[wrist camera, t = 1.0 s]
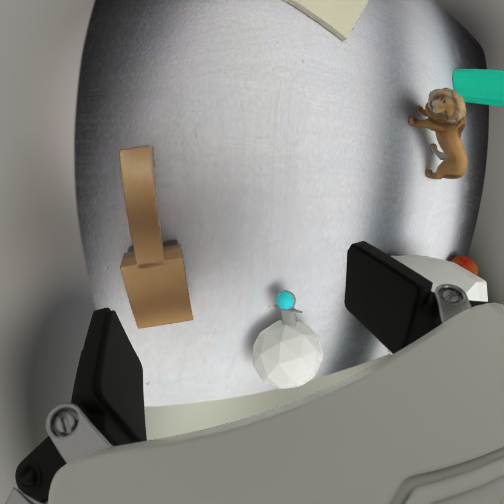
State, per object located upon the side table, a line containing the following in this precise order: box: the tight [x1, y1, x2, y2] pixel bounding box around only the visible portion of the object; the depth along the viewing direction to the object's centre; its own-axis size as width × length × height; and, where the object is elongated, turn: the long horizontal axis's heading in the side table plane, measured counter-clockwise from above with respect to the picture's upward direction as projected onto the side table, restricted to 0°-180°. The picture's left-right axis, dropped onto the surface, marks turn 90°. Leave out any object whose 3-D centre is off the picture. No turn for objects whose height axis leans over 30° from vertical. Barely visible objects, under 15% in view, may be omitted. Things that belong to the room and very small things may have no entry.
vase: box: [386, 255, 488, 355], centre depth 25 cm, size 14×14×25 cm
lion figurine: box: [409, 88, 468, 179], centre depth 25 cm, size 15×5×9 cm, turn 43°
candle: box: [453, 69, 504, 107], centre depth 22 cm, size 6×6×12 cm
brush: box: [119, 146, 193, 329], centre depth 21 cm, size 14×5×5 cm, turn 2°
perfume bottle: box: [253, 291, 323, 389], centre depth 29 cm, size 8×8×12 cm
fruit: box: [450, 255, 478, 276], centre depth 38 cm, size 7×7×8 cm
